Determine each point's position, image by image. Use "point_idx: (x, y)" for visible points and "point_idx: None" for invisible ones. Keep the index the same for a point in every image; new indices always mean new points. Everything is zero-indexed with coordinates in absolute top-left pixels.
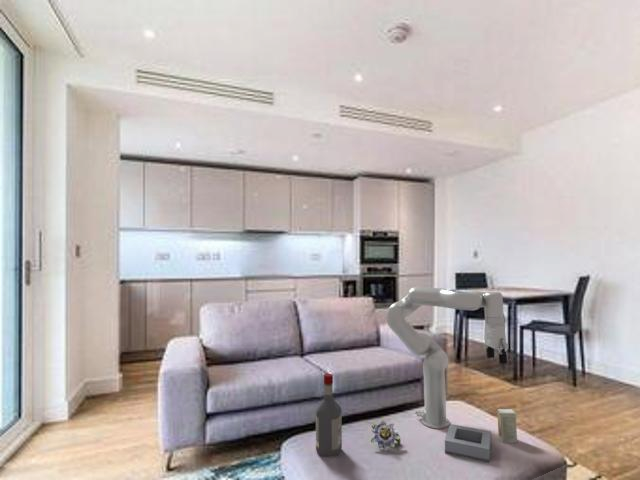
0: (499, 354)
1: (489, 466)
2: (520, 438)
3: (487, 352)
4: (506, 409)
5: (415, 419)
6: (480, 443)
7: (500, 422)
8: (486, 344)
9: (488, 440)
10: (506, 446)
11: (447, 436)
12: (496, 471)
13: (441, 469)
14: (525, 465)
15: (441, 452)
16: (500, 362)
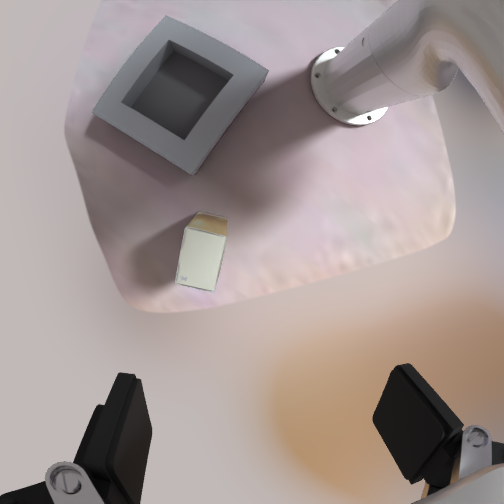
0: (87, 460)
1: None
2: None
3: (428, 401)
4: (215, 271)
5: None
6: (186, 134)
7: (196, 220)
8: (472, 488)
9: (134, 134)
10: (174, 209)
11: (185, 27)
12: (74, 119)
13: (112, 10)
14: (85, 202)
15: None
16: (117, 384)
